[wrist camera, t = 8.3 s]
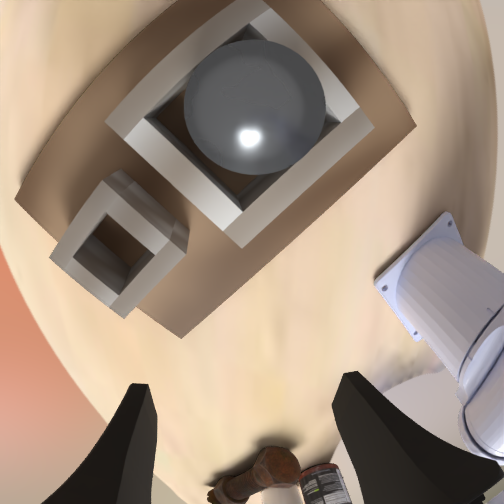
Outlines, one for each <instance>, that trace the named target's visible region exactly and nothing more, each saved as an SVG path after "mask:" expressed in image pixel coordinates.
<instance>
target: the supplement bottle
mask: <svg viewBox="0 0 504 504" xmlns="http://www.w3.org/2000/svg"><path fill="white" fill-rule="evenodd" d="M299 482H300V487H301V490H302V494H303V497H304V501H305V504H352V502H351V499H350V497H349V493H348V491H347V488H346V486H345V483H344V480H343V477H342V475H341V473H340V470H339V468H338V466H337V465H336V464H332V463H327V464H321V465H317V466H314V467H312V468H309V469H307V470H305V471H304V472H303V473H301V474H300V477H299Z"/></svg>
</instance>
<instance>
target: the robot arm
mask: <svg viewBox="0 0 504 504" xmlns="http://www.w3.org/2000/svg"><path fill="white" fill-rule="evenodd" d="M448 222H449V224H448ZM374 286H375V288H376V289H377V290H378V292H379V293H380V294H381V296H382V297H383V298H384V299H385V301H386V302H387V303H388V305H389V306H390V307H391V309H392V310H393V311H394V313H395V314H396V316H397V317H398V318H399V320H400V321H401V322H402V324H403V325H404V326H405V328H406V329H407V331H408V332H409V333H410V335H411V336H412V338H413V339H414V340H415V341H416V342H418V341H420V340H421V339H422V338H423V339H424V340H425V341H426V343H427V344H428V345H429V346H430V347H431V349H432V350H433V351H434V352H435V354H436V355H437V356H438V357H439V359H440V360H441V361H442V362H443V364H444V365H445V366H446V367H447V369H448V370H449V371H450V372H451V374H452V375H453V376H454V378H455V379H456V380H457V381H458V383H459V387H458V390H457V391H456V393H455V395H456V396H457V398H458V399H459V400H460V402H461V403H462V406H461V409H460V411H459V415H458V426H459V431H460V435H461V437H462V440H463V442H464V443H465V445H466V447H467V448H468V449H469V450H470V452H471V453H470V452H467V451H464V450H462V449H460V448H457V447H455V446H453V445H451V444H449V443H447V442H445V441H443V440H442V439H440V438H438V437H436V436H435V435H433V434H432V433H430V432H428V431H427V430H425V429H424V428H422V427H421V426H420V425H418V424H417V423H415V422H414V421H413V420H412V419H410V418H409V417H408V416H406V415H405V414H404V413H403V412H401V411H400V410H399V409H398V408H397V407H395V406H394V405H393V404H392V403H391V402H390V401H389V400H388V399H387V398H386V397H384V396H383V395H382V394H381V393H380V392H379V391H378V390H377V389H376V388H375V387H374V386H373V385H372V384H371V383H370V382H369V381H368V380H367V379H366V378H365V377H363V376H362V375H361V374H360V373H359V372H358V371H354V372H348V373H344V374H343V376H342V379H341V382H340V384H339V387H338V390H337V392H336V395H335V398H334V400H333V403H332V409H333V413H334V417H335V421H336V424H337V428H338V430H339V433H340V435H341V437H342V440H343V442H344V444H345V447H346V449H347V452H348V454H349V457H350V459H351V461H352V464H353V466H354V468H355V471H356V474H357V476H358V480H359V484H360V487H361V492H362V495H363V500H364V504H483V503H482V501H484V500H485V496H484V494H483V493H484V492H486V491H487V490H488V489H490V488H491V487H492V486H494V485H495V484H496V483H497V482H499V481H500V480H501V479H502V478H503V477H504V472H503V470H502V469H501V467H500V465H504V273H502V272H501V271H499V270H498V269H497V268H495V267H494V266H493V265H491V264H490V263H488V262H487V261H485V260H484V259H483V258H481V257H480V256H478V255H477V254H475V253H474V252H472V251H471V250H469V249H468V248H466V247H465V246H464V244H463V242H462V239H461V237H460V234H459V231H458V229H457V227H456V224H455V222H454V219H453V217H452V215H451V213H449V212H447V211H446V212H444V213H442V215H441V216H440V217H439V218H438V219H437V220H436V221H435V222H434V223H433V224H432V225H431V226H430V227H429V228H428V229H427V230H426V231H425V232H424V233H423V234H422V235H421V236H420V237H419V238H418V239H417V240H416V241H415V242H414V243H413V244H412V245H411V246H410V247H409V248H408V249H407V250H406V251H405V252H404V253H403V254H402V255H401V256H400V257H399V258H398V259H397V260H396V261H395V262H393V263H392V264H391V265H390V266H389V267H388V268H387V269H386V270H385V271H384V272H383V273H382V274H381V275H379V276H378V277H377V278H376V279H375V281H374ZM383 286H385V287H384V288H383V289H382V287H383ZM156 444H157V413H156V410H155V406H154V403H153V399H152V396H151V392H150V389H149V385H148V384H136V383H132V384H131V385H130V386H129V388H128V390H127V392H126V394H125V396H124V398H123V400H122V402H121V404H120V405H119V407H118V409H117V411H116V413H115V414H114V416H113V418H112V419H111V421H110V423H109V424H108V426H107V428H106V430H105V431H104V433H103V434H102V436H101V437H100V439H99V440H98V442H97V443H96V444H95V446H94V447H93V449H92V450H91V452H90V453H89V454H88V456H87V457H86V458H85V460H84V461H83V462H82V463H81V464H80V466H79V467H78V468H77V469H76V471H75V472H74V473H73V474H72V475H71V476H70V477H69V478H68V479H67V480H66V481H65V482H64V483H63V484H62V485H61V486H60V487H59V488H58V489H57V490H56V491H55V492H54V493H53V494H52V495H50V496H49V497H48V498H47V499H46V500H45V501H44V502H42V503H41V504H151V487H152V478H153V469H154V461H155V452H156ZM485 504H504V490H503V491H502V492H500V493H499V494H497V495H496V496H495V497H493V498H492V499H491V500H490V501H488V502H487V503H485Z"/></svg>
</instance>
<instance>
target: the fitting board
mask: <svg viewBox="0 0 504 504" xmlns="http://www.w3.org/2000/svg"><path fill="white" fill-rule="evenodd" d="M252 39H257V40H267V41H272V42H275V43H278V44H281V45H284V46H286V47H288V48H290V49H292V50H293V51H295V52H296V53H298V54H299V55H300V56H301V57H303V58H304V59H305V60H306V61H307V62H308V63H309V64H310V66H311V67H312V68H313V69H314V71H315V72H316V74H317V76H318V78H319V80H320V82H321V84H322V87H323V90H324V95H325V101H326V115H325V121H324V125H323V128H322V131H321V134H320V136H319V138H318V140H317V141H316V143H315V144H314V146H313V147H312V149H311V150H310V151H309V152H308V153H307V154H306V155H305V156H304V157H303V158H302V159H301V160H299V161H298V162H296V163H295V164H293V165H291V166H290V167H288V168H286V169H283V170H280V171H278V172H274V173H270V174H262V175H248V174H241V173H237V172H233V171H230V170H228V169H225V168H223V167H221V166H220V165H218V164H216V163H214V162H213V161H212V160H210V159H209V158H208V157H207V156H206V155H205V154H204V153H203V152H202V151H201V150H200V149H199V148H198V147H197V145H196V144H195V142H194V141H193V139H192V137H191V136H190V133H189V131H188V128H187V125H186V121H185V116H184V97H185V91H186V88H187V85H188V82H189V80H190V78H191V76H192V74H193V72H194V71H195V69H196V68H197V67H198V65H199V64H200V63H201V62H202V61H203V60H204V59H205V58H206V57H207V56H208V55H210V54H211V53H212V52H214V51H215V50H217V49H219V48H221V47H223V46H225V45H227V44H230V43H233V42H237V41H242V40H252ZM416 126H417V125H416V124H415V122H414V120H413V119H412V117H411V115H410V114H409V112H408V111H407V109H406V107H405V106H404V104H403V103H402V101H401V100H400V98H399V97H398V95H397V93H396V92H395V91H394V89H393V88H392V86H391V85H390V83H389V82H388V80H387V79H386V78H385V76H384V75H383V73H382V72H381V71H380V69H379V68H378V67H377V65H376V64H375V63H374V61H373V60H372V59H371V57H370V56H369V55H368V54H367V52H366V51H365V50H364V49H363V47H362V46H361V45H360V44H359V42H358V41H357V40H356V39H355V38H354V36H353V35H352V34H351V33H350V32H349V31H348V29H347V28H346V27H345V26H344V25H343V24H342V23H341V22H340V20H339V19H338V18H337V17H336V16H335V15H334V14H333V13H332V12H331V11H330V10H329V9H328V8H327V7H326V6H325V5H324V4H323V3H322V2H321V1H320V0H178V1H177V2H175V3H174V4H173V5H171V6H170V7H169V8H168V9H167V10H165V11H164V12H163V13H162V14H160V15H159V16H158V17H157V18H156V19H155V20H153V21H152V22H151V23H150V24H149V25H148V26H147V27H146V28H144V29H143V30H142V31H141V32H140V33H139V34H138V35H137V36H136V37H135V38H134V39H133V40H132V41H131V42H130V43H129V44H128V45H127V46H126V47H125V48H124V49H123V50H122V51H121V52H120V53H119V54H118V55H117V56H116V57H115V58H114V59H113V60H112V61H111V62H110V63H109V64H108V65H107V66H106V67H105V68H104V70H103V71H102V72H101V73H100V74H99V75H98V76H97V77H96V79H95V80H94V81H93V82H92V83H91V84H90V86H89V87H88V88H87V89H86V90H85V92H84V93H83V94H82V95H81V97H80V98H79V99H78V100H77V102H76V103H75V104H74V106H73V107H72V108H71V110H70V111H69V112H68V114H67V115H66V116H65V118H64V119H63V120H62V122H61V123H60V125H59V126H58V127H57V129H56V130H55V132H54V133H53V135H52V136H51V138H50V139H49V141H48V142H47V144H46V145H45V147H44V148H43V150H42V151H41V153H40V155H39V156H38V158H37V160H36V161H35V163H34V165H33V166H32V168H31V170H30V171H29V173H28V175H27V177H26V178H25V180H24V182H23V184H22V186H21V188H20V189H19V191H18V193H17V195H16V197H15V199H14V200H15V201H16V202H17V203H18V204H19V205H20V206H21V207H22V208H23V209H24V210H25V211H26V212H27V213H28V214H29V215H30V216H31V217H32V218H33V219H34V220H35V221H36V222H37V223H38V224H39V225H40V226H41V227H42V228H44V229H45V230H46V231H47V232H48V233H49V234H50V235H51V236H52V237H53V238H54V239H55V240H56V241H57V242H58V244H57V246H56V247H55V249H54V250H53V252H52V254H51V255H50V257H49V258H50V259H51V260H52V261H53V262H54V263H55V264H57V265H58V266H59V267H60V268H61V269H62V270H63V271H65V272H66V273H67V274H68V275H69V276H70V277H72V278H73V279H74V280H75V281H76V282H78V283H79V284H80V285H81V286H82V287H84V288H85V289H86V290H87V291H88V292H90V293H91V294H92V295H93V296H95V297H96V298H97V299H99V300H100V301H101V302H102V303H104V304H105V305H106V306H108V307H109V308H110V309H111V310H113V311H114V312H115V313H117V314H118V315H119V316H121V317H122V318H124V319H125V317H126V316H127V315H128V314H129V313H130V312H131V311H132V310H133V309H134V308H135V307H137V308H139V309H140V310H141V311H143V312H144V313H145V314H147V315H148V316H149V317H151V318H152V319H154V320H155V321H156V322H158V323H159V324H161V325H162V326H163V327H165V328H166V329H168V330H169V331H170V332H172V333H173V334H175V335H176V336H178V337H179V338H181V339H182V338H183V337H184V336H185V335H186V334H188V333H189V332H190V331H191V330H192V329H193V328H194V327H196V326H197V325H198V324H199V323H200V322H201V321H203V320H204V319H205V318H206V317H207V316H208V315H209V314H211V313H212V312H213V311H214V310H215V309H216V308H217V307H219V306H220V305H221V304H222V303H223V302H224V301H225V300H227V299H228V298H229V297H230V296H231V295H232V294H233V293H235V292H236V291H237V290H238V289H239V288H240V287H241V286H243V285H244V284H245V283H246V282H247V281H248V280H249V279H250V278H252V277H253V276H254V275H255V274H256V273H257V272H258V271H260V270H261V269H262V268H263V267H264V266H265V265H266V264H267V263H268V262H270V261H271V260H272V259H273V258H274V257H275V256H276V255H277V254H279V253H280V252H281V251H282V250H283V249H284V248H285V247H286V246H287V245H289V244H290V243H291V242H292V241H293V240H294V239H295V238H296V237H297V236H299V235H300V234H301V233H302V232H303V231H304V230H305V229H306V228H307V227H309V226H310V225H311V224H312V223H313V222H314V221H315V220H316V219H317V218H318V217H320V216H321V215H322V214H323V213H324V212H325V211H326V210H327V209H328V208H329V207H331V206H332V205H333V204H334V203H335V202H336V201H337V200H338V199H339V198H340V197H341V196H343V195H344V194H345V193H346V192H347V191H348V190H349V189H350V188H351V187H352V186H353V185H354V184H356V183H357V182H358V181H359V180H360V179H361V178H362V177H363V176H364V175H365V174H366V173H367V172H368V171H370V170H371V169H372V168H373V167H374V166H375V165H376V164H377V163H378V162H379V161H380V160H381V159H382V158H383V157H385V156H386V155H387V154H388V153H389V152H390V151H391V150H392V149H393V148H394V147H395V146H396V145H397V144H398V143H399V142H400V141H402V140H403V139H404V138H405V137H406V136H407V135H408V134H409V133H410V132H411V131H412V130H413V129H414V128H415V127H416Z"/></svg>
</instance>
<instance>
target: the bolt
mask: <svg viewBox="0 0 504 504" xmlns="http://www.w3.org/2000/svg"><path fill="white" fill-rule="evenodd" d="M300 473H301V468H300V465H299V462H298V460H297V458H296V457H295V455H294V454H293V453H291V452H290V451H289V450H287V449H285V448H281V447H266V448H264V449H263V450H261V451H260V453H259V455H258V458H257V460H256V462H255V464H254V466H253V468H251V469H249V470H248V471H246V472H244V473H242V474H240V475H239V476H237V477H232V476H225V477H223V478H221V479H220V480H219V481H218V483H217V484H216V486H215V488H214V489H212V490H210V491H209V492H208V494H207V496H209V497H207V500H208V502H210V503H212V504H245V503H246V502H247V501H248V499H249V497H250V496H251V495H253V494H255V493H257V492H259V491H261V490H263V489H265V488H267V487H268V488H290V487H292V486H294V485H296V483H297V481H298V479H299V477H300Z"/></svg>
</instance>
